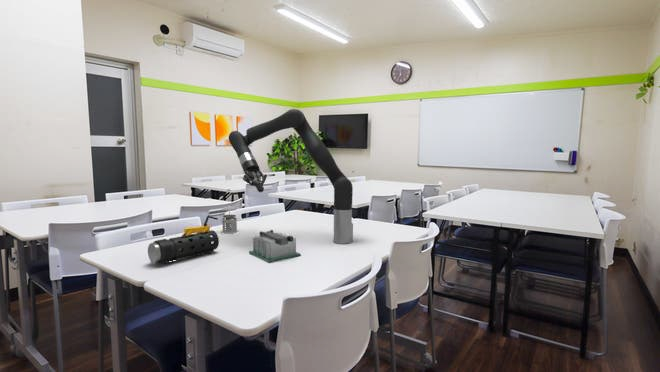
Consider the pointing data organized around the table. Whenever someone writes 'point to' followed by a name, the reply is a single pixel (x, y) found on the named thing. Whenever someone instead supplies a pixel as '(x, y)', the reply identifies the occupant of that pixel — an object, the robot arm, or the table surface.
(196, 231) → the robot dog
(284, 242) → the grey lever
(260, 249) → the board
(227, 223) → the french press
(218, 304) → the table surface
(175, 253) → the muzzle brake
